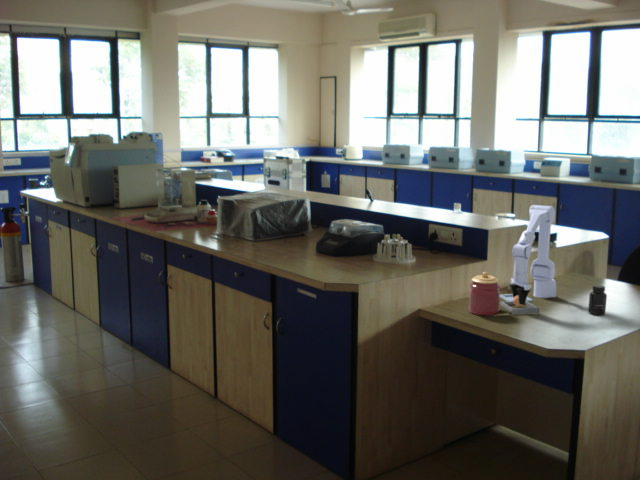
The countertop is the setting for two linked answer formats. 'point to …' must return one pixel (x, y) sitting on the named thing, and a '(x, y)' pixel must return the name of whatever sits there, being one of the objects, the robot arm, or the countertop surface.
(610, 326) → the countertop surface
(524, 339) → the countertop surface
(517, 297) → the ball
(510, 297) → the dish
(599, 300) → the supplement bottle
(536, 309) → the tray
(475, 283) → the canister
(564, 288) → the countertop surface
